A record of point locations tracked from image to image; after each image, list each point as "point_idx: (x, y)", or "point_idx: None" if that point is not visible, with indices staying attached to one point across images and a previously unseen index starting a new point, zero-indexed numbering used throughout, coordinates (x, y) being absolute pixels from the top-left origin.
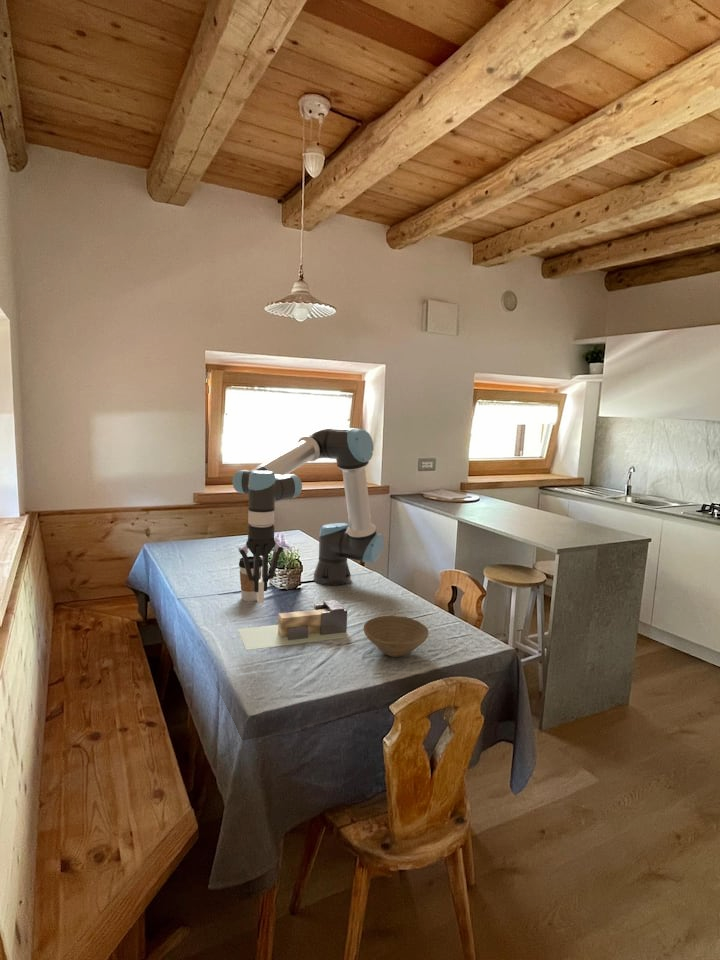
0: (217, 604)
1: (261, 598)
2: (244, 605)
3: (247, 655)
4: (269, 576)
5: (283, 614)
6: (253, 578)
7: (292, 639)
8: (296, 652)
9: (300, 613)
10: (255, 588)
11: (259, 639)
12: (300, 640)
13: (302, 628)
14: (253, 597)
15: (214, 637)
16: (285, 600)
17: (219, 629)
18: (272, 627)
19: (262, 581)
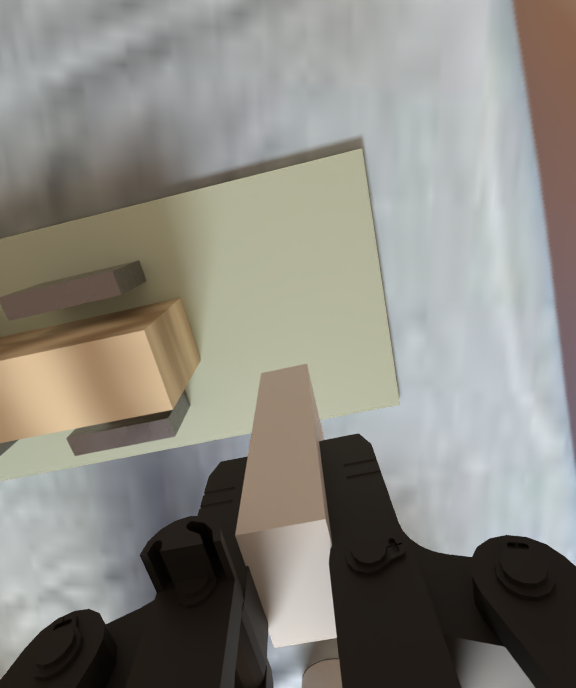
0: None
1: (280, 389)
2: None
3: (354, 93)
4: (113, 669)
5: (139, 392)
6: (450, 601)
7: (118, 265)
8: (85, 116)
9: (30, 401)
10: (363, 466)
11: (291, 279)
12: (75, 254)
13: (35, 288)
14: (323, 677)
15: (511, 331)
16: None
17: (480, 415)
18: (231, 412)
19: (262, 559)
